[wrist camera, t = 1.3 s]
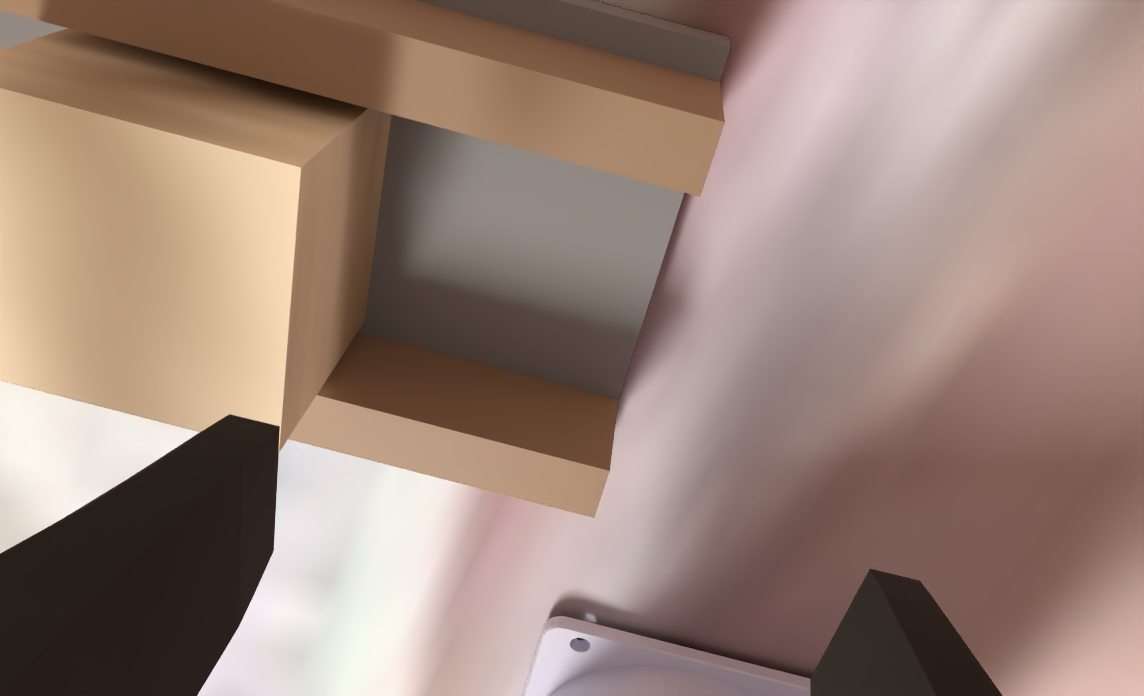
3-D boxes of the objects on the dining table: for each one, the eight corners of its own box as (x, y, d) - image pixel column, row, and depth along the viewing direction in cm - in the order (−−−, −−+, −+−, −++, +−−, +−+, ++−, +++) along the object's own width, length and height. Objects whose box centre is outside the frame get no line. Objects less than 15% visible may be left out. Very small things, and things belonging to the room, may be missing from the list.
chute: (729, 36, 16) (738, 81, 13) (600, 443, 20) (586, 540, 18) (-522, -302, 15) (-790, -330, 12) (-356, 195, 20) (-524, 254, 17)
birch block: (395, 84, 16) (300, 168, 12) (364, 321, 18) (279, 452, 15) (120, 11, 16) (-65, 70, 12) (128, 259, 18) (-21, 375, 14)
